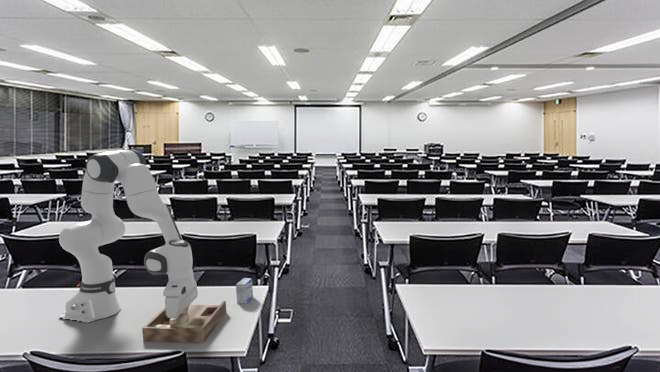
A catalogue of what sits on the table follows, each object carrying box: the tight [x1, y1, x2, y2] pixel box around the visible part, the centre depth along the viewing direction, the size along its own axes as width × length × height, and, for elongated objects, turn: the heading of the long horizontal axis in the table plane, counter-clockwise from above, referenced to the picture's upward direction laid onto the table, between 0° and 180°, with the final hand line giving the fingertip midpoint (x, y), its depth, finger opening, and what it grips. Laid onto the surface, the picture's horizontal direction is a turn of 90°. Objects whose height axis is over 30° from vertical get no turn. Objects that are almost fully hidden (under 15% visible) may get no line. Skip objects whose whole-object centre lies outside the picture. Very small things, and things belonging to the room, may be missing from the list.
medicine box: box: [235, 277, 254, 305], centre depth 191 cm, size 8×4×9 cm, turn 168°
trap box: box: [141, 300, 227, 344], centre depth 167 cm, size 22×25×5 cm
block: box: [170, 314, 189, 328], centre depth 160 cm, size 5×5×4 cm
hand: (184, 318), depth 164 cm, fingers closed
